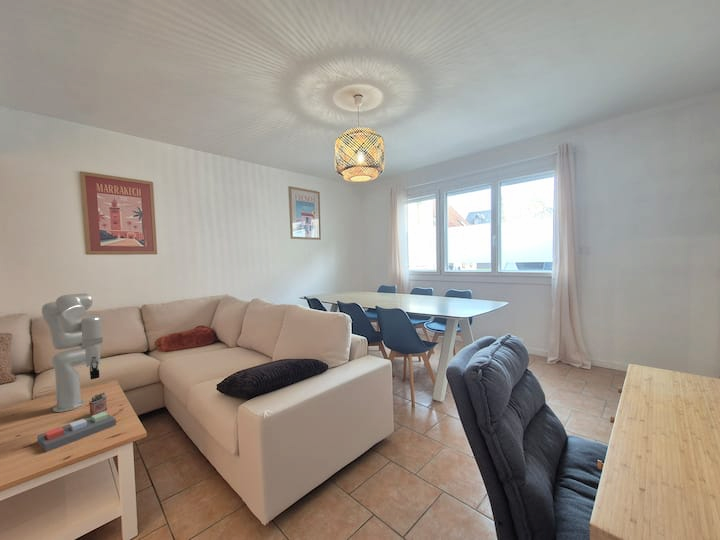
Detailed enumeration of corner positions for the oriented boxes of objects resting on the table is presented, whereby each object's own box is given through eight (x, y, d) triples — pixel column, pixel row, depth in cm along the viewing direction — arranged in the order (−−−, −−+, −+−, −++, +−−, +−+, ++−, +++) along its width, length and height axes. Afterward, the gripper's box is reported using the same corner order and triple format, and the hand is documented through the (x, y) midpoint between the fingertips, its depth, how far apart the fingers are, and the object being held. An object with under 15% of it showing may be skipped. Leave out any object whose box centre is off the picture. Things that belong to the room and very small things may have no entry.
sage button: (91, 422, 144) (91, 415, 144) (104, 418, 148) (104, 411, 148) (95, 425, 142) (95, 418, 142) (108, 420, 146) (108, 414, 146)
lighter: (92, 417, 153) (92, 398, 152) (87, 416, 153) (87, 397, 153) (109, 409, 161) (108, 391, 160) (104, 409, 161) (103, 391, 161)
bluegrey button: (69, 430, 137) (69, 423, 137) (83, 425, 142) (83, 418, 142) (72, 433, 135) (72, 426, 135) (87, 428, 139) (87, 421, 139)
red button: (44, 439, 131) (44, 432, 131) (60, 434, 135) (60, 426, 135) (48, 443, 128) (47, 435, 128) (63, 437, 132) (63, 429, 132)
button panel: (37, 441, 132) (37, 435, 132) (105, 417, 152) (104, 411, 152) (46, 452, 124) (45, 445, 124) (115, 425, 145) (115, 419, 145)
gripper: (82, 341, 149) (84, 374, 149) (82, 346, 137) (84, 382, 137) (101, 338, 155) (103, 370, 155) (103, 342, 142) (105, 377, 142)
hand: (94, 376), depth 146 cm, fingers open, 9 cm apart
